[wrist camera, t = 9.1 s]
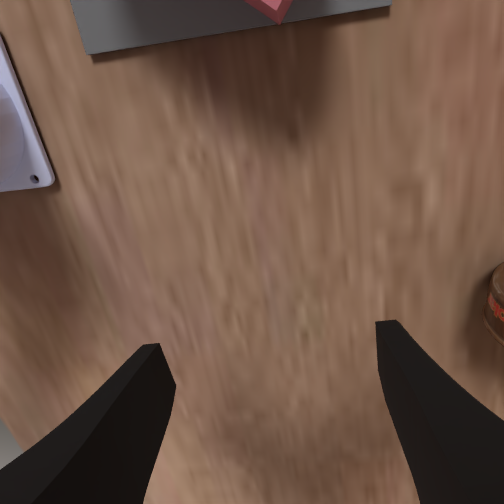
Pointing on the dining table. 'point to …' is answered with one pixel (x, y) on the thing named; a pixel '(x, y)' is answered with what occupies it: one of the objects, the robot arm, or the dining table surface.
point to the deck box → (272, 8)
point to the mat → (186, 19)
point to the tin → (495, 305)
